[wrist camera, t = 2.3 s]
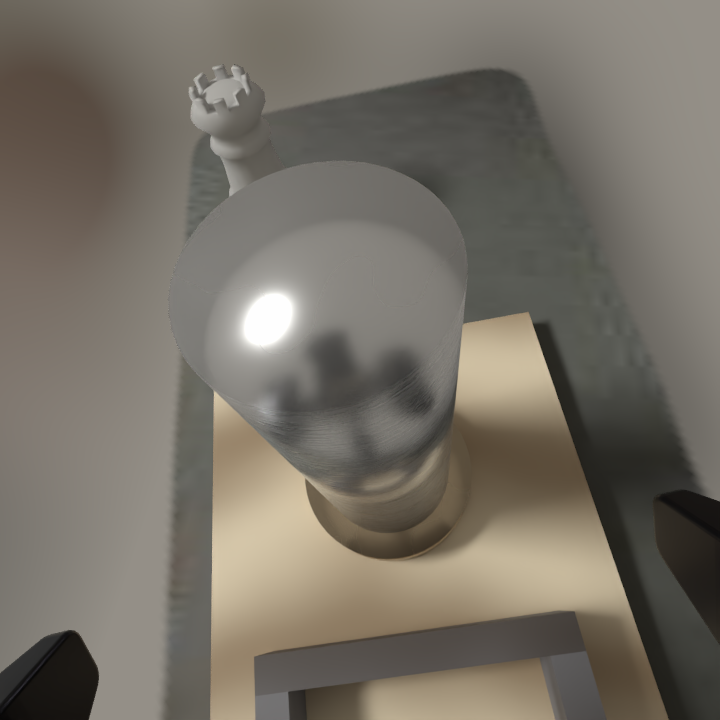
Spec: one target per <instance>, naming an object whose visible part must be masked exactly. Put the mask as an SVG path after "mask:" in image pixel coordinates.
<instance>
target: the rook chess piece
mask: <svg viewBox="0 0 720 720" xmlns="http://www.w3.org/2000/svg"><path fill="white" fill-rule="evenodd" d="M212 68H213V70H214V73H215V75H216V78H215V79H213V80H211V81H209V82H208V80H207V77H206V75H205V74H203V73H200V74H199V75H198V76H197V77H196V78H195V79H194V81H195V84H196V86H197V88H198V90H197V88H196V87H189V96H190V98H191V100H192V102H193V103H192V107H191V120H192V122H193V123H194V125H195V126H196V127H197V128H199V129H201V130H203V131H205V132H207V133H209V134H211V139H210V142H211V149H212V150H213V151H214V153H215V154H217V155H219V156H220V157H221V159H222V161H223V163H224V166H225V170H226V173H227V176H228V179H229V183H230V186H231V188H230V190H229V195H230V196H231V195H233V194H234V193H236V192H237V191H238V190H240V189H242V188H244V187H245V186H247V185H249V184H251V183H252V182H254V181H256V180H259V179H261V178H263V177H265V176H267V175H270V174H272V173H275V172H278V171H281V170H284V169H287V168H286V167H284V166H283V164H282V162H281V160H280V159H279V157H278V155H277V153H276V151H275V149H274V147H273V146H272V143H271V140H270V137H269V136H270V134H271V129H270V124H269V123H268V122H267V121H266V120H265V119H264V118H262V117H261V112H262V109H263V107H264V104H265V95H264V91H263V90H262V89H261V88H260V87H259V86H258V85H257V84H256V83H254V82H252V81H251V80H250V77H249V75H248V73H246V74H245V72H244V69H243V67H240V66H238V65H235V64H234V65H233V67H232V68H231V70H232V73H233V75H228V74H227V72H226V69H225V67H224V64H222V65H218V66H214V67H212Z"/></svg>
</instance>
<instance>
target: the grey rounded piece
mask: <svg viewBox="0 0 720 720" xmlns="http://www.w3.org/2000/svg"><path fill="white" fill-rule="evenodd" d="M467 274H468V270H467V254H466V249H465V244H464V240H463V237H462V235H461V232H460V229H459V227H458V225H457V223H456V221H455V220H454V218H453V216H452V214H451V213H450V211H449V210H448V209H447V208H446V206H445V205H444V204H443V203H442V202H441V200H440V199H439V198H438V197H436V196H435V195H434V194H433V193H432V192H431V191H430V190H429V189H427V188H426V187H425V186H423V185H422V184H420V183H419V182H417V181H416V180H414V179H412V178H410V177H408V176H406V175H404V174H402V173H400V172H397V171H394V170H392V169H389V168H386V167H382V166H378V165H374V164H370V163H363V162H355V161H324V162H315V163H309V164H303V165H299V166H295V167H291V168H287V169H284V170H281V171H278V172H275V173H272V174H270V175H267V176H265V177H263V178H261V179H259V180H256V181H254V182H252V183H251V184H249V185H247V186H245V187H244V188H242V189H240V190H238V191H237V192H236V193H234V194H233V195H231V196H230V197H229V198H227V199H226V200H224V201H223V202H222V203H221V204H220V205H219V206H217V207H216V208H215V209H214V210H213V211H212V212H211V213H210V214H209V215H208V216H207V217H206V218H205V219H204V220H203V221H202V222H201V223H200V225H199V226H198V227H197V229H196V230H195V231H194V233H193V234H192V235H191V236H190V238H189V240H188V241H187V243H186V245H185V246H184V248H183V250H182V252H181V254H180V256H179V259H178V261H177V263H176V265H175V269H174V272H173V275H172V279H171V283H170V291H169V318H170V324H171V329H172V332H173V335H174V338H175V341H176V344H177V346H178V348H179V349H180V351H181V353H182V355H183V357H184V359H185V360H186V361H187V362H188V364H189V365H190V366H191V368H192V369H193V370H194V371H195V373H197V374H198V375H199V376H200V377H201V378H202V379H203V380H204V381H205V382H206V383H207V384H208V385H209V386H210V387H211V388H212V389H213V390H214V391H215V392H216V393H217V394H218V395H219V396H220V397H221V398H222V399H224V400H225V401H226V402H227V403H228V404H229V405H230V406H231V407H232V408H233V409H234V410H235V411H236V412H237V413H238V414H239V415H240V416H241V417H242V418H243V419H244V420H245V421H246V422H247V423H248V424H250V425H251V426H252V427H253V428H254V429H255V430H256V431H257V432H258V433H259V434H260V435H261V436H262V437H263V438H264V439H265V440H266V441H267V442H268V443H269V444H270V445H271V446H272V447H273V448H274V449H275V450H277V451H278V452H279V453H280V454H281V455H282V456H283V457H284V458H285V459H286V460H287V461H288V462H289V463H290V464H291V465H292V466H293V467H294V468H295V469H296V470H297V471H298V472H299V473H300V474H301V475H302V476H304V477H305V484H306V491H307V496H308V499H309V503H310V505H311V508H312V510H313V512H314V514H315V516H316V518H317V519H318V521H319V523H320V524H321V525H322V527H323V528H324V529H325V530H326V532H327V533H328V534H329V535H331V536H332V537H333V538H334V539H335V540H336V541H337V542H339V543H340V544H342V545H343V546H344V547H346V548H348V549H349V550H351V551H353V552H355V553H357V554H359V555H361V556H364V557H367V558H370V559H374V560H379V561H403V560H407V559H411V558H415V557H417V556H420V555H423V554H425V553H427V552H428V551H430V550H432V549H434V548H435V547H436V546H438V545H439V544H440V543H442V542H443V541H444V540H445V539H446V538H447V537H448V536H449V535H450V534H451V532H452V531H453V530H454V528H455V527H456V526H457V524H458V522H459V521H460V519H461V517H462V515H463V512H464V510H465V507H466V504H467V501H468V497H469V493H470V489H471V479H472V471H471V461H470V455H469V452H468V449H467V446H466V443H465V441H464V439H463V437H462V435H461V433H460V431H459V430H458V428H457V427H456V425H455V424H454V423H453V422H454V411H455V401H456V390H457V380H458V369H459V359H460V348H461V338H462V327H463V317H464V306H465V296H466V285H467Z"/></svg>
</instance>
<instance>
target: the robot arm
mask: <svg viewBox="0 0 720 720" xmlns="http://www.w3.org/2000/svg"><path fill="white" fill-rule="evenodd" d="M653 516H654V531H655V542H656V546H657V549H658V551H659V553H660V555H661V557H662V558H663V560H664V562H665V563H666V565H667V566H668V568H669V569H670V571H671V572H672V574H673V575H674V577H675V578H676V580H677V581H678V583H679V584H680V586H681V587H682V589H683V590H684V592H685V593H686V595H687V596H688V598H689V599H690V601H691V602H692V604H693V605H694V607H695V608H696V610H697V611H698V613H699V614H700V616H701V617H702V619H703V620H704V622H705V623H706V625H707V626H708V628H709V629H710V631H711V632H712V634H713V635H714V637H715V638H716V640H717V641H718V643H719V644H720V502H719V501H717V500H714V499H711V498H708V497H705V496H702V495H699V494H696V493H694V492H691V491H687V490H675V491H671V492H666V493H662V494H658V495H657V496H656V497H655V498H654V500H653ZM98 680H99V672H98V668H97V665H96V663H95V662H94V660H93V658H92V656H91V654H90V652H89V650H88V649H87V647H86V645H85V643H84V641H83V640H82V638H81V636H80V635H79V633H77V632H76V631H73V630H68V631H63V632H59V633H55V634H51V635H48V636H46V637H44V638H43V639H41V640H40V641H39V642H38V643H36V644H35V645H34V646H33V647H31V648H30V649H29V650H28V651H26V652H25V653H24V654H23V655H22V656H20V657H19V658H18V659H17V660H16V661H14V662H13V663H12V664H11V665H9V666H8V667H7V668H6V669H5V670H4V671H2V672H1V673H0V720H89V716H90V713H91V709H92V705H93V702H94V698H95V694H96V691H97V686H98Z"/></svg>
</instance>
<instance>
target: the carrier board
mask: <svg viewBox="0 0 720 720" xmlns="http://www.w3.org/2000/svg"><path fill="white" fill-rule="evenodd" d="M453 423H454V424H455V425H456V427H457V428H458V430H459V431H460V433H461V435H462V437H463V439H464V441H465V443H466V446H467V449H468V452H469V455H470V461H471V471H472V479H471V489H470V493H469V497H468V501H467V504H466V507H465V510H464V512H463V515H462V517H461V519H460V521H459V522H458V524H457V526H456V527H455V528H454V530H453V531H452V532H451V534H450V535H449V536H448V537H447V538H446V539H445V540H444V541H443V542H442V543H440V544H439V545H438V546H436V547H435V548H434V549H432V550H430V551H428V552H427V553H425V554H423V555H420V556H417V557H415V558H411V559H407V560H403V561H379V560H374V559H370V558H367V557H364V556H361V555H359V554H357V553H355V552H353V551H351V550H349V549H348V548H346V547H344V546H343V545H342V544H340V543H339V542H337V541H336V540H335V539H334V538H333V537H332V536H331V535H329V534H328V533H327V532H326V530H325V529H324V528H323V527H322V525H321V524H320V523H319V521H318V519H317V518H316V516H315V514H314V512H313V510H312V508H311V505H310V503H309V499H308V496H307V491H306V484H305V477H304V476H302V475H301V474H300V473H299V472H298V471H297V470H296V469H295V468H294V467H293V466H292V465H291V464H290V463H289V462H288V461H287V460H286V459H285V458H284V457H283V456H282V455H281V454H280V453H279V452H278V451H277V450H275V449H274V448H273V447H272V446H271V445H270V444H269V443H268V442H267V441H266V440H265V439H264V438H263V437H262V436H261V435H260V434H259V433H258V432H257V431H256V430H255V429H254V428H253V427H252V426H251V425H250V424H248V423H247V422H246V421H245V420H244V419H243V418H242V417H241V416H240V415H239V414H238V413H237V412H236V411H235V410H234V409H233V408H232V407H231V406H230V405H229V404H228V403H227V402H226V401H225V400H224V399H222V398H221V397H220V396H219V395H218V394H217V393H216V392H215V391H214V445H213V534H212V623H211V712H210V720H669V719H668V716H667V713H666V710H665V707H664V704H663V702H662V699H661V696H660V693H659V690H658V687H657V684H656V681H655V678H654V675H653V673H652V670H651V667H650V664H649V661H648V658H647V655H646V652H645V649H644V646H643V643H642V641H641V638H640V635H639V632H638V629H637V626H636V623H635V620H634V617H633V614H632V612H631V609H630V606H629V603H628V600H627V597H626V594H625V591H624V588H623V585H622V583H621V580H620V577H619V574H618V571H617V568H616V565H615V562H614V559H613V556H612V553H611V551H610V548H609V545H608V542H607V539H606V536H605V533H604V530H603V527H602V524H601V522H600V519H599V516H598V513H597V510H596V507H595V504H594V501H593V498H592V495H591V492H590V490H589V487H588V484H587V481H586V478H585V475H584V472H583V469H582V466H581V463H580V461H579V458H578V455H577V452H576V449H575V446H574V443H573V440H572V437H571V434H570V431H569V429H568V426H567V423H566V420H565V417H564V414H563V411H562V408H561V405H560V402H559V400H558V397H557V394H556V391H555V388H554V385H553V382H552V379H551V376H550V373H549V371H548V368H547V365H546V362H545V359H544V356H543V353H542V350H541V347H540V344H539V341H538V339H537V336H536V333H535V330H534V327H533V324H532V321H531V318H530V315H529V312H526V313H521V314H515V315H510V316H504V317H499V318H493V319H488V320H482V321H477V322H471V323H466V324H463V327H462V338H461V348H460V359H459V369H458V380H457V390H456V401H455V411H454V422H453Z"/></svg>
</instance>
